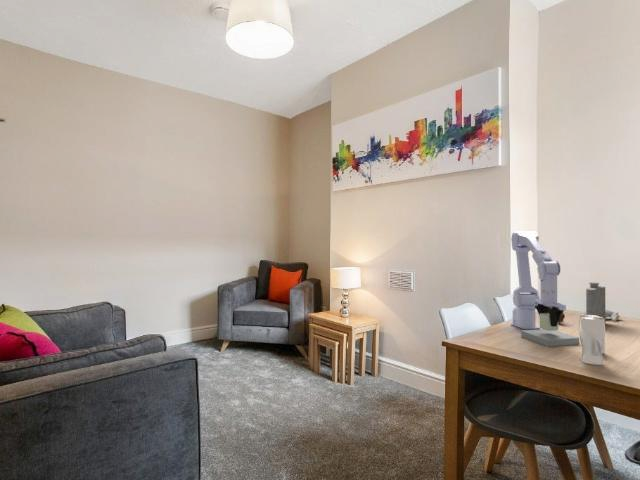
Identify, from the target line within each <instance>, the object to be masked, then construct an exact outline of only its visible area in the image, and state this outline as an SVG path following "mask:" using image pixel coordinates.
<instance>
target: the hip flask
mask: <svg viewBox="0 0 640 480" xmlns="http://www.w3.org/2000/svg"><path fill="white" fill-rule="evenodd" d="M588 284H589V287H587V288H586V289H585V291H586V292H585V299H586V300H585V302H586V303H585V308H586V309H585V313H586V315H591V316H598V317H602V318H604V322H605V323H606V318H605V310H606V286H600V283H599V282H595V281H593V282H592V281H590V282H589V283H588Z"/></svg>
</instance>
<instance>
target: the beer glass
mask: <svg viewBox="0 0 640 480" xmlns="http://www.w3.org/2000/svg"><path fill="white" fill-rule="evenodd" d="M578 334H579V341H580V343H581V344H580V345H581V356H580V361H581V362H582V363H584V364H587V365H591V366H603V365H604V357H603V354H602V349H603V344H604V339H605V340H606V321H605V322H604V318H602V317H598V316H591V315H582V314H581V315H580V316H579V323H578Z"/></svg>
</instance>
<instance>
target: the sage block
mask: <svg viewBox="0 0 640 480" xmlns="http://www.w3.org/2000/svg"><path fill="white" fill-rule="evenodd" d="M539 327H540V329H544V330H547V331H554V330H556V331H559V323H558V324H557V326H555V327H552V326H551V323H550V315H549V313H540V316H539Z"/></svg>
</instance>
